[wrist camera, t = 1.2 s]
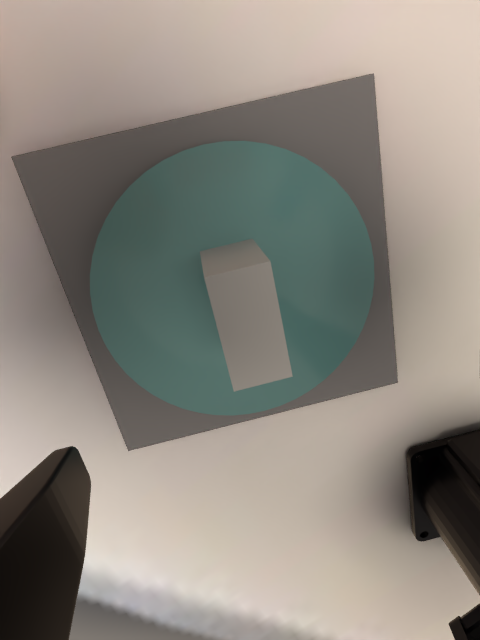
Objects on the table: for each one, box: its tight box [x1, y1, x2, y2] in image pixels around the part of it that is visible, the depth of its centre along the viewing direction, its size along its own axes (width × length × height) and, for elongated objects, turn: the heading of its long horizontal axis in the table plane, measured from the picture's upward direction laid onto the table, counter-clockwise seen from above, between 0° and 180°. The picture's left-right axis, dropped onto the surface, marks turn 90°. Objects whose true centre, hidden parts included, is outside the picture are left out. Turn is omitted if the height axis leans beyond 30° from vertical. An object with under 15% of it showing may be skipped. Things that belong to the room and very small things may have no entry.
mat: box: [12, 74, 398, 451], centre depth 18 cm, size 13×13×1 cm
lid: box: [90, 141, 374, 416], centre depth 15 cm, size 11×11×4 cm
